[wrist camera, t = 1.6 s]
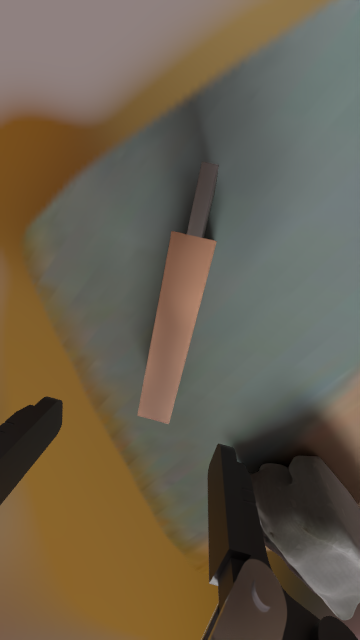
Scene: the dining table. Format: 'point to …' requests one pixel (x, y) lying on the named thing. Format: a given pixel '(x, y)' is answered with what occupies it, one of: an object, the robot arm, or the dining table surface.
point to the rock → (312, 528)
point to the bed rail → (179, 303)
